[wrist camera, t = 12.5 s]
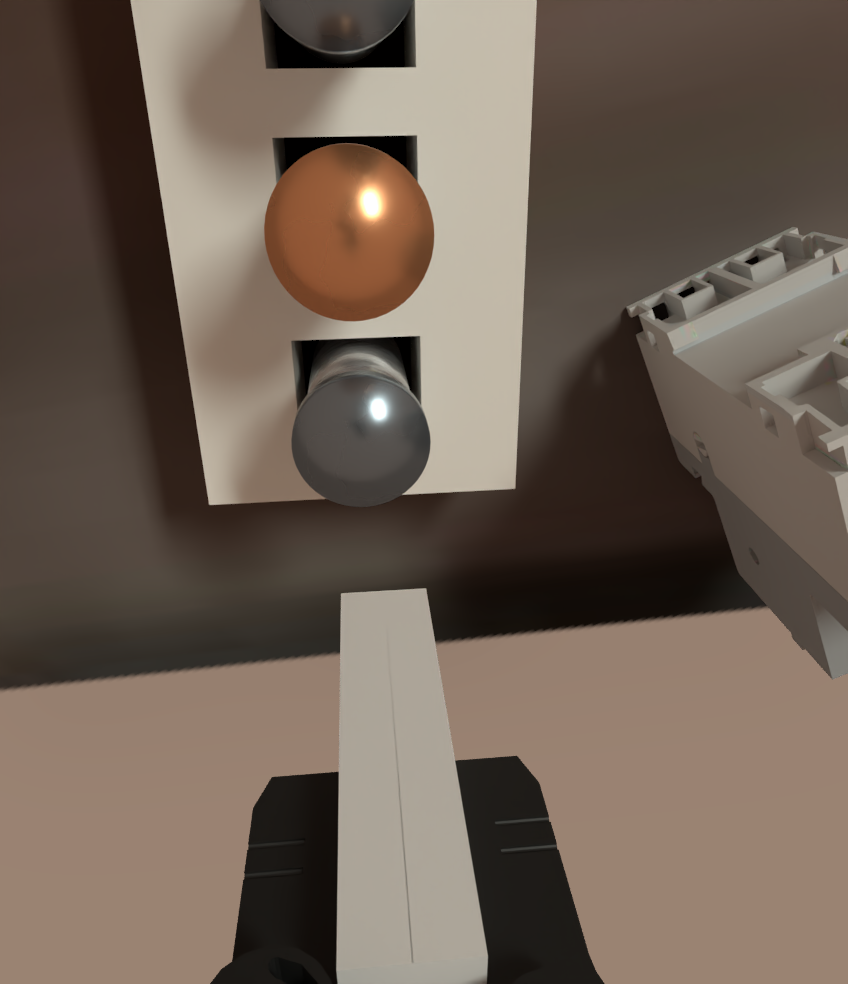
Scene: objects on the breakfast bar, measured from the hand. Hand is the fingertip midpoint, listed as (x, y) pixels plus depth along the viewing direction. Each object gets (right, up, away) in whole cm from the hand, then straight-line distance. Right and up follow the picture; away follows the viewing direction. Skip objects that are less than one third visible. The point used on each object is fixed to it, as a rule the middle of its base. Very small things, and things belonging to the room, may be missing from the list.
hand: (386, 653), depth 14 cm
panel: (-2, +14, +16) cm, 21 cm away
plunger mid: (-2, +13, +14) cm, 19 cm away
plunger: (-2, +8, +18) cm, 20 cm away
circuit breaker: (+16, +7, +22) cm, 28 cm away
